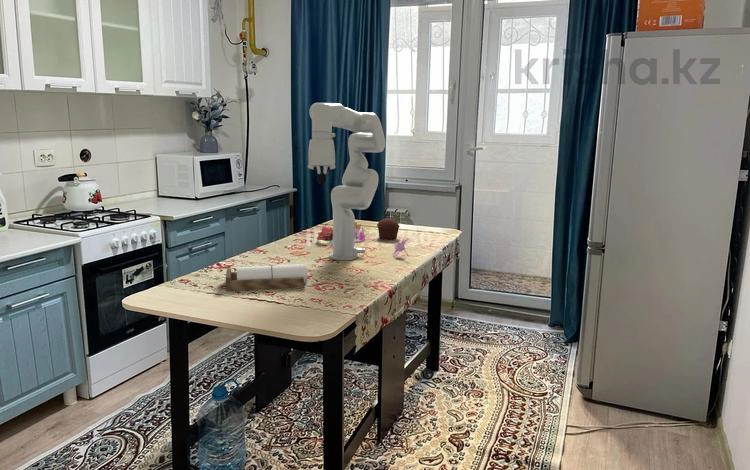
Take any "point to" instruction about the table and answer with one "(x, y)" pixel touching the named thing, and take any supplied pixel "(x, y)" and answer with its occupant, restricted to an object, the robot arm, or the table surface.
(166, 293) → the table surface
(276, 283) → the U-rest
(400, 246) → the lily
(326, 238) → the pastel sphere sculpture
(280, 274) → the cylindrical container
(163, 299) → the table surface
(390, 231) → the muffin
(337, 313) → the table surface
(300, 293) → the table surface
